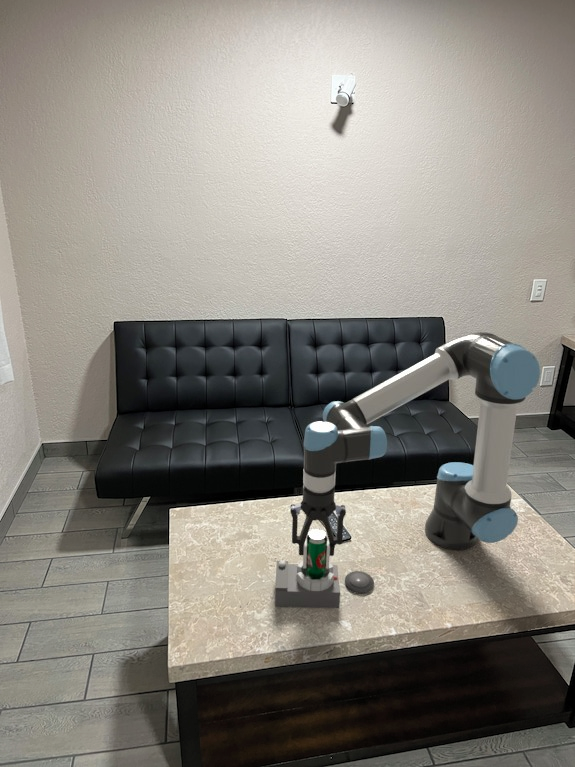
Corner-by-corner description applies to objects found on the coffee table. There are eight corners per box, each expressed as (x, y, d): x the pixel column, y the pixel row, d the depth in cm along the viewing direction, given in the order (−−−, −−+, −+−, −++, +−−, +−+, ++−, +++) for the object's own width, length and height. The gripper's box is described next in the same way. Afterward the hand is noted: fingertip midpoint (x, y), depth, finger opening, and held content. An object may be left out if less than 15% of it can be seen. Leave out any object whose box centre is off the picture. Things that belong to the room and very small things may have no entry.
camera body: (336, 580, 143) (337, 557, 141) (339, 608, 134) (340, 584, 131) (276, 578, 143) (276, 556, 141) (275, 606, 134) (275, 583, 131)
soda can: (304, 567, 138) (305, 528, 134) (324, 566, 139) (325, 527, 135) (306, 580, 134) (308, 541, 129) (327, 579, 134) (328, 540, 130)
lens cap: (371, 573, 146) (371, 570, 145) (375, 594, 139) (375, 590, 138) (343, 573, 146) (343, 569, 145) (346, 593, 139) (346, 590, 138)
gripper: (355, 477, 130) (350, 555, 139) (281, 476, 131) (280, 554, 139) (358, 494, 123) (353, 575, 132) (280, 493, 124) (279, 574, 132)
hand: (315, 564), depth 135 cm, fingers closed on soda can, 5 cm apart
